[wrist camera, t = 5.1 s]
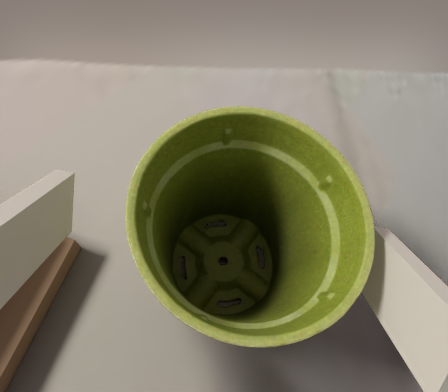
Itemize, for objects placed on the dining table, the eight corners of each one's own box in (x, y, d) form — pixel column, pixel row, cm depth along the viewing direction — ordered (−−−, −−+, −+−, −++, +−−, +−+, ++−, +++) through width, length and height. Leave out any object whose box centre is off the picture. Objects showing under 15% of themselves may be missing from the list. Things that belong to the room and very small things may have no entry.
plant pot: (277, 182, 24) (330, 97, 16) (320, 329, 20) (415, 314, 12) (134, 201, 22) (113, 115, 14) (154, 367, 18) (141, 379, 10)
